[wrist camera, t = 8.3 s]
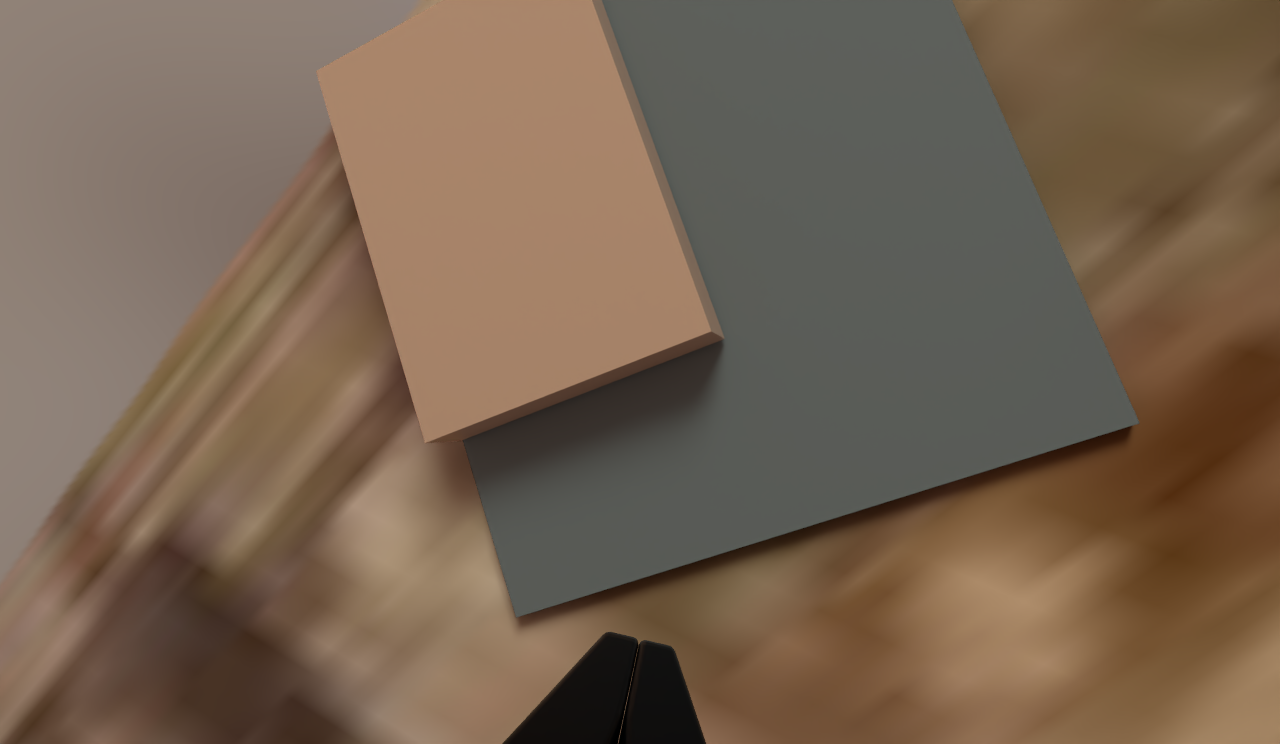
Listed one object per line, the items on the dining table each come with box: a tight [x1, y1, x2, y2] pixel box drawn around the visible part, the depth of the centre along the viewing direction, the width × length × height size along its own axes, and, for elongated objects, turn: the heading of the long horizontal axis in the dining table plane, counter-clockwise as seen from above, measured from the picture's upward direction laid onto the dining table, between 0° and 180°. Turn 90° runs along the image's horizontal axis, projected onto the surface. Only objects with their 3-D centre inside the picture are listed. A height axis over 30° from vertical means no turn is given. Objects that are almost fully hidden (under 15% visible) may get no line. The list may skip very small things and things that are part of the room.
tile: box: [316, 0, 725, 443], centre depth 20 cm, size 2×8×11 cm
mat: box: [463, 0, 1139, 617], centre depth 20 cm, size 16×16×1 cm
